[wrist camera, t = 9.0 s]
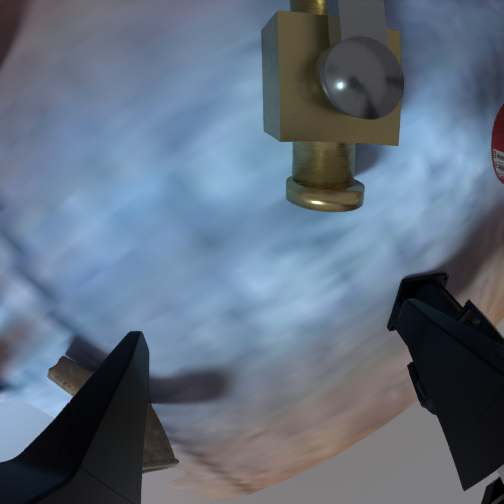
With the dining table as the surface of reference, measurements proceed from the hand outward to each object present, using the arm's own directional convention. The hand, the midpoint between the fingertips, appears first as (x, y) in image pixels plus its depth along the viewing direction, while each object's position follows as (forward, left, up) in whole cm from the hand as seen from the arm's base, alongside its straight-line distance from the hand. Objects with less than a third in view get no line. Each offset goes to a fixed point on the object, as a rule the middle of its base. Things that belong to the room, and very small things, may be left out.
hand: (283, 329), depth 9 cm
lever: (-5, -12, -7) cm, 15 cm away
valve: (-5, -8, -13) cm, 16 cm away
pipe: (+15, +20, -13) cm, 29 cm away
